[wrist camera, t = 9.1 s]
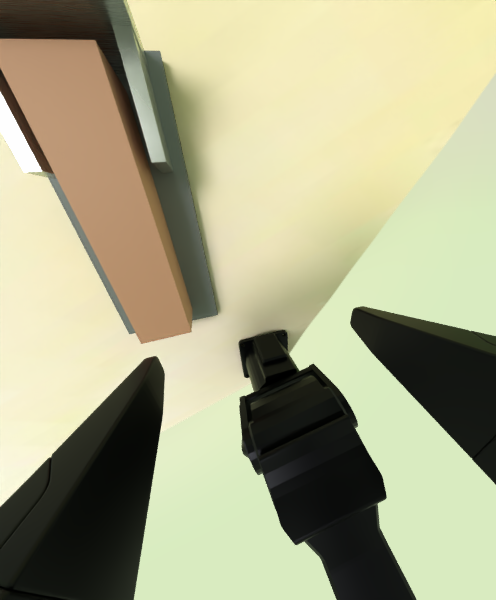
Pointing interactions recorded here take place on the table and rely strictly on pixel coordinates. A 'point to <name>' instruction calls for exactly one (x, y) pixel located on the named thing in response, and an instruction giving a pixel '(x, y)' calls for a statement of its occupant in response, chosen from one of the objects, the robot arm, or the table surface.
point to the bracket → (115, 46)
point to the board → (164, 204)
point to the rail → (102, 174)
